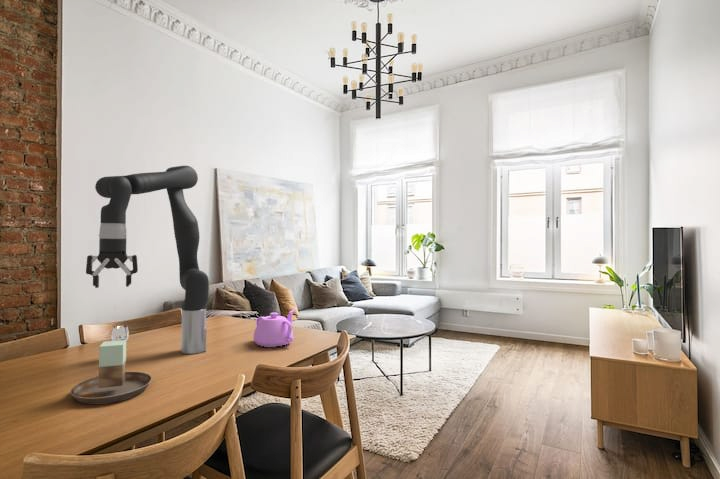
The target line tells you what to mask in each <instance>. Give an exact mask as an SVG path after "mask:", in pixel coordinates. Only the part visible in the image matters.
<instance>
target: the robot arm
mask: <svg viewBox="0 0 720 479" xmlns="http://www.w3.org/2000/svg"><path fill="white" fill-rule="evenodd" d="M197 183H198V173H197V171H196V170H195V169H194V168H193V167H192V166H189V165H179V166H178V165H177V166H172V167H169V168H167V169H166V170H165V171H157V172H156V171H155V172H140V173H131V174H128V175H113V176H111V175H110V176H104V177H101V178H99V179H98V180H97V181H96V183H95V184H94V185H95V186H94V188H95V191H96V193H97V194H98V195H99V196H100V197H102V198H105V199H110V200H109V202H108V204H105V205H103V206H102V207H101V208H100V224H99V234H98V237H99V238H98V239H99V240H98V241H99V242H98V245H99V247H98V248H99V249H98V250H99V251H98V255H91V254H89V255H88V256H87V257H86V265H85V266H86V267H85V273H86V274H87V275H89V276H92V286H93V287H95V289H98V288H99V287H100V275H99V274H100V273H101V272H102V271H103V270H104V268H105V269H119V268H120V269H121V270H122V271H123V272H124V273H125V274H126V276H125V287H127V288H129V287H130V285H132V275H135V274H136V273H138V267H139V266H138V256H137V255H136V254H132V255H127V226H126V225H127V224H126V222H127V218H126V217H127V209H128V207H129V203H130V200H131V196H132V195H142V194H146V193H147V194H148V193H152V192H157V191H160V190H165V189H166V193H167V196H168V201H169V205H170V212H171V216H172V217H171V218H172V223H173V225H172V226H173V233H174V238H175V243H176V244H175V245H176V251H177V256H178V263H179V264H178V265H179V284H180V286H181V288H182V289H183V290H184V292H185V295H184V301H183V302H182V304H181V332H180V333H181V337H180V339H181V340H180V341H181V344H180V349H181V350H180V352H181V353H182V354H185V355H187V354H189V355H193V354H200V353H203V352H207V303H208V302H209V293H210V292H209V290H210V285H209V284H210V281H209V276H208V275H207V273H206V272H204V271H203V270H200V267H199V262H198V251H199V246H200V245H199V244H200V228H199V222H198V219H197V217H196V216H195V214H194V213H193V211H192V210H191V208H190V207H189V206H188V204H187V202H186V200H185V196H184V195H185V194H184V190H187V189H192V188H194V187H195V186H196V184H197ZM128 259H129V262H130V263H132V269H130V268H129V267H128V266H127V265H126V264H125V262H127V260H128ZM96 261H98V262H99V263H100V265H99V266H98V267H97V268H96V269H95V270H93V264H94V263H95V262H96Z"/></svg>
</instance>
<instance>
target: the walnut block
mask: <svg viewBox="0 0 720 479" xmlns="http://www.w3.org/2000/svg"><path fill="white" fill-rule="evenodd" d="M126 360H127V359H126ZM126 360H125V362H124V364H123V365H119V366H108V367H99V366H98V376H99V385H98V388H107V387H115V386H122V385H123V383H124V381H125V372H126Z"/></svg>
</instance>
